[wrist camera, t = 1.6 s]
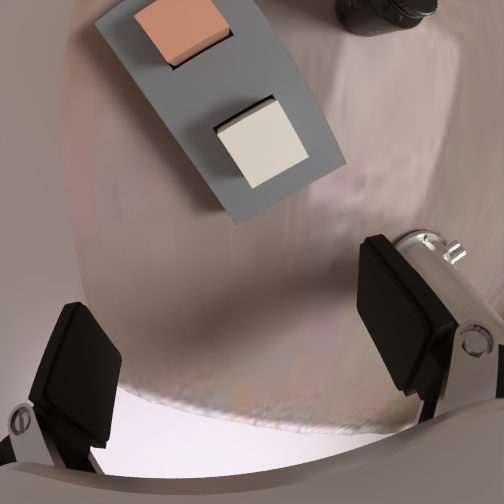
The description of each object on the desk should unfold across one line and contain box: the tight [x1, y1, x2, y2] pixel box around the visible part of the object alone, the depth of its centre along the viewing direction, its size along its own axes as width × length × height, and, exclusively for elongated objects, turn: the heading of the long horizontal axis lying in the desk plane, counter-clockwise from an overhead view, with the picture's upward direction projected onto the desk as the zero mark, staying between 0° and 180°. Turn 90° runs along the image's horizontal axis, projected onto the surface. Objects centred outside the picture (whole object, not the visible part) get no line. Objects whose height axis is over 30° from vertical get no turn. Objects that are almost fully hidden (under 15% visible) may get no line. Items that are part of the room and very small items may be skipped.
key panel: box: [94, 0, 347, 225], centre depth 26 cm, size 14×28×4 cm, turn 30°
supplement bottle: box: [335, 0, 438, 37], centre depth 18 cm, size 7×7×12 cm
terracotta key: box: [134, 0, 230, 67], centre depth 20 cm, size 6×6×5 cm
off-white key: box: [217, 99, 309, 189], centre depth 27 cm, size 6×6×5 cm
